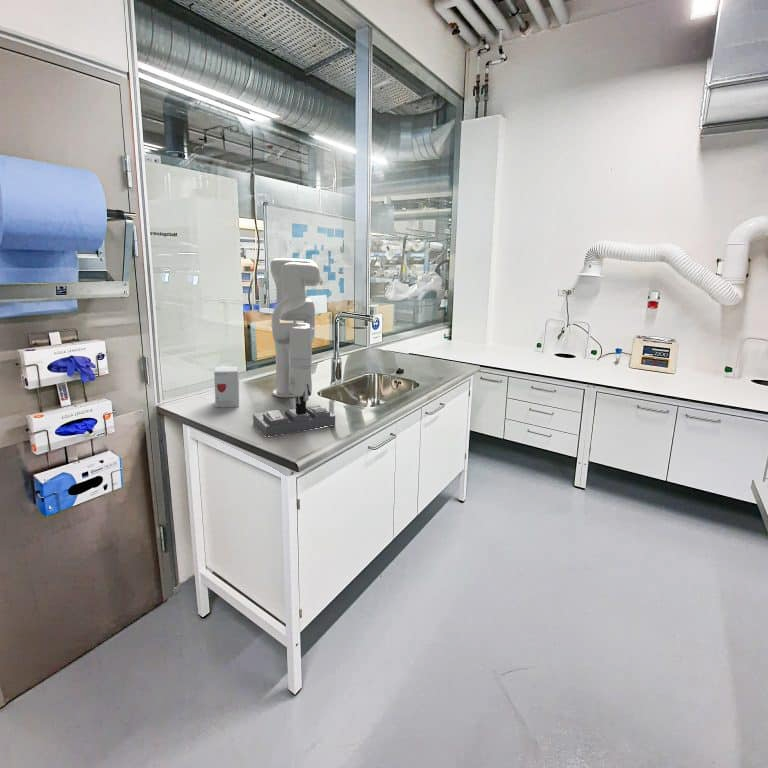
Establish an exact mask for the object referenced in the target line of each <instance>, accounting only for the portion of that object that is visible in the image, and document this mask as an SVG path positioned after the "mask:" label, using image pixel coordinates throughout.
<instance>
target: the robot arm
mask: <svg viewBox="0 0 768 768" xmlns="http://www.w3.org/2000/svg"><path fill="white" fill-rule="evenodd" d="M269 265H270V267H269V268H270V272H271V275H272V279H273V281H274V284H275V287H276V288H275V289H276V306H275V308H274V309H273V312H272V315H271V329H272V330H271V332H272V339H273V341H274V347H275V351H274V352H275V380H276V381H275V384H276V385H275V389H273V391H272V395H273V396H275V397H278V398H288V399H289V398H294V402H295V408H296V414H297V415H301V414H306V407H307V401H310V399H309V398H310V397H311V395H312V392H313V390H312V389H313V387H312V386H313V384H312V383H313V382H312V372H311V371H312V370H311V369H312V367H313V364H312V363H313V362H312V361H313V358H312V357H313V352H312V351H313V347H312V345H313V343H314V341H315V332H316V330H315V327H316V326H315V325H316V323H315V322H316V309H315V304H314V301H313V300H311V299H310V298H307V296H306V295H307V293H306V287H317V286H318V285H319V283H320V278H321V277H320V269H319V267H318V265H317V263H316V262H315V261H313V260H312V259H305V258H304V259H302V258H287V257H285V258H284V257H280V258H273V260H271V262H270V264H269ZM280 320H281V321H286V322H281V321H280ZM297 322H298V323H297Z"/></svg>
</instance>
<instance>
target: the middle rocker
mask: <svg viewBox="0 0 768 768" xmlns="http://www.w3.org/2000/svg"><path fill="white" fill-rule="evenodd" d="M290 409H291V410H289V413H291V414H292V415H293V416H294V417H297V416H304V415H306V414H301V415H297V414H296V409H293V408H290Z"/></svg>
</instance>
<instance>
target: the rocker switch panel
mask: <svg viewBox="0 0 768 768" xmlns="http://www.w3.org/2000/svg"><path fill="white" fill-rule="evenodd" d="M313 407H323V406H322V405H320V404H316V405H314V404H313V405H309V406H307V405H306V415H304V416H297V417H294V416H293V415H292V414H291V413H289V410H291V409H296V407H295V408H288V409H278V410H279V411H280V413H281V414H282V415H283V417H284V419H277V420H272V419H271V418H269V416H268V415H267V411H266V412H259V413H258V412H257V413H253V414H252V422H253V424H254V425H255V426H256V427H257V428H258V429H259V430H260V431H261V432H262V433H263V434H264V435H265V436H266V437H268V436H274V437H276V436H275V435H279V436H282V435H281V434H285V435H288V434H287V433H291V434H294V433H293V432H297V433H299V432H298V431H303V432H305V431H304V430H309V431H311V430H310V429H314V430H316V429H315V428H320V427H324V426H330V425H335V426H336V415H335V414H333V413H332V412H330V411H329V410H328V409H326V411H325V412H318V413H314V412H313V411H311V410H310V409H309V408H313ZM254 425H253V426H254ZM255 426H254V427H255ZM256 427H255V428H256ZM257 428H256V429H257ZM258 429H257V430H258ZM320 429H321V428H320ZM259 430H258V431H259ZM260 431H259V432H260ZM261 432H260V433H261ZM262 433H261V434H262ZM263 434H262V435H263ZM264 435H263V436H264ZM265 436H264V437H265ZM266 437H265V438H266ZM268 438H269V437H268Z"/></svg>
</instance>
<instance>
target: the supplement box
mask: <svg viewBox="0 0 768 768" xmlns="http://www.w3.org/2000/svg"><path fill="white" fill-rule="evenodd" d="M213 372H214V373H213V374H214V375H213V376H214V377H213V379H214V394H215V395H214V398H215V401H214V402H215V408H217V407H221V408H239V406H240V381H239V380H240V379H239V377H240V376H239V375H240V373H239V366H215V368H214V371H213ZM217 409H218V408H217Z"/></svg>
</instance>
